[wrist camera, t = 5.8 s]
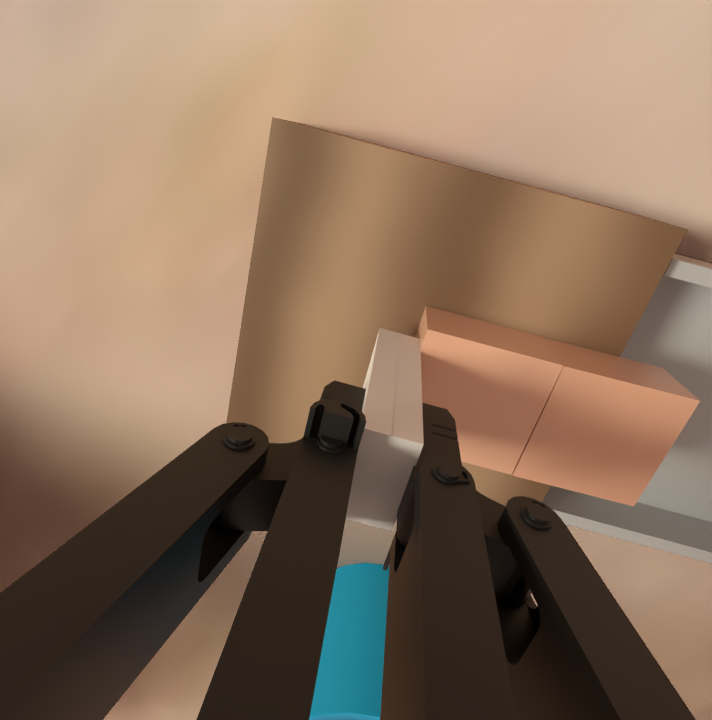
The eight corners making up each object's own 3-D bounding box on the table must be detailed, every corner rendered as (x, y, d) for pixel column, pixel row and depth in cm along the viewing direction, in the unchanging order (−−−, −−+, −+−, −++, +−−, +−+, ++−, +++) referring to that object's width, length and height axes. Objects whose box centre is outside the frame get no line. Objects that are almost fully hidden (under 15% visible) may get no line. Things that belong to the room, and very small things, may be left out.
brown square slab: (246, 417, 25) (221, 457, 21) (296, 122, 19) (272, 117, 15) (507, 488, 25) (522, 538, 21) (640, 216, 19) (687, 229, 16)
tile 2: (392, 407, 19) (390, 442, 17) (425, 305, 17) (427, 328, 15) (499, 436, 19) (511, 474, 17) (544, 337, 17) (563, 365, 15)
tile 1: (500, 437, 19) (512, 475, 17) (543, 337, 17) (564, 366, 15) (607, 464, 19) (633, 506, 17) (662, 367, 17) (700, 400, 15)
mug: (285, 580, 29) (242, 727, 22) (409, 548, 27) (407, 699, 20) (366, 700, 33) (352, 859, 26) (480, 680, 31) (501, 847, 24)
